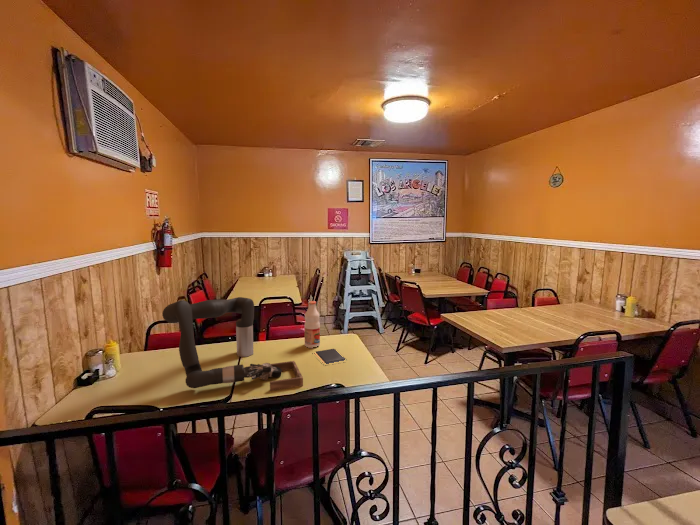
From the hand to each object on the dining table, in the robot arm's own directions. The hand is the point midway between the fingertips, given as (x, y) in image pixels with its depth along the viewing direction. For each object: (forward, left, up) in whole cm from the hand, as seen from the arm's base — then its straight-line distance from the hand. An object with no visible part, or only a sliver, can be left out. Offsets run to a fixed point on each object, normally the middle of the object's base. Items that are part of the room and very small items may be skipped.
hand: (270, 368), depth 166 cm
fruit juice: (-38, +30, -6) cm, 49 cm away
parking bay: (0, +5, -6) cm, 8 cm away
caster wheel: (-5, 0, -6) cm, 8 cm away
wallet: (-19, +36, -7) cm, 41 cm away
